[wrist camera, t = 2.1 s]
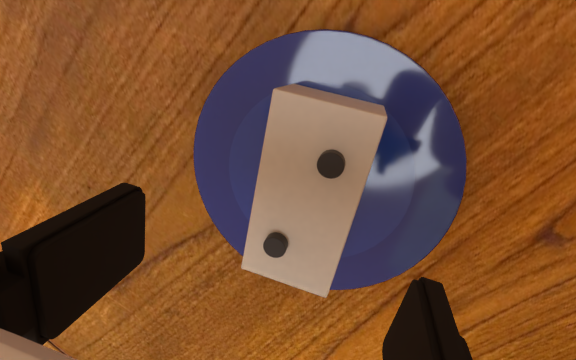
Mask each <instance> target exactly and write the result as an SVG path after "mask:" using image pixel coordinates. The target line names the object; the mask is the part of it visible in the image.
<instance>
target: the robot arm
mask: <svg viewBox="0 0 576 360" xmlns="http://www.w3.org/2000/svg"><path fill="white" fill-rule="evenodd" d="M1 245H2V250H3V251H1V252H0V360H76V359H74V358H72V357H69V356H67V355H64V354H62V353H60V352H57V351H55V350H52V349H50V348H47V347H45V346H43V344H44V343H46V342H47V341H48V340H49V339H54V338H56V337H57V336H58V335H60V334H61V333H62V332H63V331H64V330H65V329H67V328H68V327H69V326H70V325H71V324H72V323H73V322H74V321H76V320H77V319H78V318H79V317H80V316H81V315H82V314H84V313H85V312H86V311H87V310H88V309H89V308H90V307H91V306H93V305H94V304H95V303H96V302H97V301H98V300H99V299H100V298H102V297H103V296H104V295H105V294H106V293H107V292H108V291H110V290H111V289H112V288H113V287H114V286H115V285H116V284H117V283H119V282H120V281H121V280H122V279H123V278H124V277H125V276H127V275H128V274H129V273H130V272H131V271H132V270H133V269H134V268H136V267H137V266H138V265H139V264H140V263H141V261H142V260H143V258H144V254H145V194H144V193H143V192H142V189H141V188H140V187H137V186H134V185H131V184H128V183H121V184H119V185H117V186H115V187H113V188H111V189H109V190H107V191H105V192H103V193H101V194H99V195H97V196H95V197H93V198H91V199H89V200H87V201H85V202H83V203H81V204H78V205H76V206H74V207H72V208H70V209H68V210H66V211H64V212H62V213H60V214H58V215H56V216H54V217H52V218H50V219H48V220H46V221H44V222H42V223H40V224H38V225H36V226H34V227H32V228H30V229H28V230H26V231H24V232H22V233H20V234H17V235H15V236H13V237H11V238H9V239H7V240H5V241H3V242H1ZM382 353H383V360H472V357H471V354H470V351H469V348H468V346H467V343H466V341H465V339H464V338H463V337H461V336H460V335H459V332H458V329H457V326H456V323H455V320H454V317H453V314H452V311H451V308H450V305H449V302H448V299H447V296H446V293H445V290H444V287H443V285H442V283H440V282H437V281H433V280H430V279H427V278H424V277H421V278H420V279H419V280H413V281H412V282H411V284H410V286H409V288H408V290H407V293H406V295H405V297H404V299H403V301H402V303H401V305H400V307H399V309H398V311H397V314H396V316H395V318H394V320H393V322H392V324H391V326H390V328H389V330H388V333H387V335H386V337H385V339H384V342H383V349H382Z"/></svg>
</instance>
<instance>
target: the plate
mask: <svg viewBox="0 0 576 360" xmlns="http://www.w3.org/2000/svg"><path fill="white" fill-rule="evenodd" d="M290 84H297V85H301V86H305V87H309V88H313V89H317V90H321V91H326V92H330V93H334V94H338V95H342V96H346V97H350V98H354V99H358V100H362V101H367V102H371V103H375V104H379V105H383V106H384V107H385V111H386V114H387V122H386V125H385V127H384V130H383V133H382V136H381V139H380V142H379V145H378V148H377V151H376V154H375V157H374V160H373V163H372V166H371V169H370V172H369V175H368V178H367V181H366V184H365V187H364V189H363V192H362V195H361V198H360V201H359V204H358V207H357V210H356V213H355V216H354V219H353V222H352V225H351V228H350V231H349V234H348V237H347V240H346V243H345V246H344V249H343V251H342V254H341V257H340V260H339V263H338V266H337V269H336V272H335V275H334V278H333V281H332V284H331V287H330V290H345V289H356V288H361V287H367V286H371V285H374V284H378V283H381V282H384V281H386V280H389V279H391V278H393V277H396V276H398V275H400V274H401V273H403V272H405V271H406V270H408V269H410V268H411V267H413V266H414V265H416V264H417V263H418V262H419V261H421V260H422V259H423V258H425V257H426V256H427V255H428V254H429V253H430V252H431V251H432V250H433V249H434V248H435V247H436V246H437V244H438V243H439V242H440V241H441V239H442V238H443V236H444V235H445V234H446V232H447V231H448V229H449V227H450V226H451V224H452V222H453V220H454V218H455V216H456V214H457V211H458V209H459V206H460V203H461V200H462V197H463V192H464V187H465V181H466V163H467V158H466V151H465V143H464V138H463V134H462V131H461V127H460V124H459V120H458V118H457V116H456V114H455V112H454V110H453V107H452V105H451V103H450V101H449V100H448V98H447V97H446V95H445V94H444V92H443V91H442V89H441V88H440V86H439V85H438V84H437V82H436V81H435V80H434V79H433V78H432V77H431V76H430V75H429V74H428V73H427V72H426V71H425V69H424V68H422V67H421V66H420V65H419V64H417V63H416V62H415V61H414V60H412V59H411V58H410V57H409V56H407V55H406V54H404V53H403V52H401V51H399V50H397V49H396V48H394V47H392V46H391V45H389V44H387V43H384V42H382V41H379V40H377V39H374V38H372V37H369V36H366V35H362V34H357V33H353V32H349V31H341V30H329V29H321V30H305V31H300V32H296V33H291V34H286V35H283V36H280V37H278V38H275V39H272V40H270V41H267V42H265V43H263V44H261V45H260V46H258V47H256V48H254V49H252V50H250V51H249V52H248V53H246V54H245V55H244V56H242V57H241V58H240V59H238V60H237V61H236V62H235V63H234V64H233V65H232V66H231V67H230V68H229V69H228V70H227V71H226V72H225V73H224V74H223V75H222V76H221V78H220V79H219V80H218V82H217V83H216V84H215V86H214V87H213V89H212V91H211V92H210V94H209V96H208V98H207V100H206V101H205V104H204V106H203V109H202V111H201V114H200V117H199V120H198V124H197V128H196V133H195V141H194V168H195V175H196V181H197V185H198V188H199V192H200V195H201V198H202V200H203V203H204V205H205V208H206V210H207V212H208V213H209V215H210V217H211V219H212V221H213V222H214V224H215V225H216V227H217V228H218V230H219V231H220V233H221V234H222V235H223V236H224V238H225V239H226V240H227V241H228V242H229V243H230V245H231V246H232V247H234V248H235V249H236V250H237V251H238V252H239V253H240V254H241V255H242V256H243V255H244V249H245V244H246V238H247V232H248V227H249V221H250V216H251V210H252V204H253V199H254V193H255V188H256V182H257V176H258V171H259V165H260V160H261V154H262V148H263V143H264V137H265V132H266V126H267V120H268V115H269V109H270V104H271V98H272V93H273V89H275V88H278V87H282V86H286V85H290Z"/></svg>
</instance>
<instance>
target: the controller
mask: <svg viewBox="0 0 576 360" xmlns="http://www.w3.org/2000/svg"><path fill="white" fill-rule="evenodd" d="M386 122H387V114H386V111H385V107H384V106H383V105H379V104H375V103H371V102H367V101H362V100H358V99H354V98H350V97H346V96H342V95H338V94H334V93H330V92H326V91H321V90H317V89H313V88H309V87H305V86H301V85H297V84H290V85H286V86H282V87H278V88H275V89H273V93H272V98H271V104H270V109H269V115H268V120H267V126H266V132H265V137H264V143H263V148H262V154H261V160H260V165H259V171H258V176H257V182H256V188H255V193H254V199H253V204H252V210H251V216H250V221H249V227H248V232H247V238H246V244H245V249H244V255H243V260H242V266H241V268H242V269H245V270H248V271H251V272H253V273H256V274H259V275H262V276H265V277H268V278H270V279H273V280H276V281H279V282H282V283H285V284H288V285H290V286H293V287H296V288H299V289H302V290H305V291H307V292H310V293H313V294H316V295H319V296H322V297H325V298H326V297H327V296H328V293H329V290H330V287H331V284H332V281H333V278H334V275H335V272H336V269H337V266H338V263H339V260H340V257H341V254H342V251H343V249H344V246H345V243H346V240H347V237H348V234H349V231H350V228H351V225H352V222H353V219H354V216H355V213H356V210H357V207H358V204H359V201H360V198H361V195H362V192H363V189H364V187H365V184H366V181H367V178H368V175H369V172H370V169H371V166H372V163H373V160H374V157H375V154H376V151H377V148H378V145H379V142H380V139H381V136H382V133H383V130H384V127H385V125H386Z"/></svg>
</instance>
